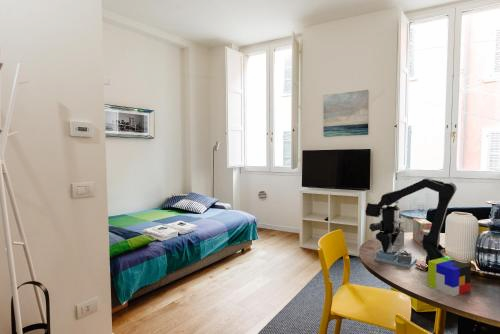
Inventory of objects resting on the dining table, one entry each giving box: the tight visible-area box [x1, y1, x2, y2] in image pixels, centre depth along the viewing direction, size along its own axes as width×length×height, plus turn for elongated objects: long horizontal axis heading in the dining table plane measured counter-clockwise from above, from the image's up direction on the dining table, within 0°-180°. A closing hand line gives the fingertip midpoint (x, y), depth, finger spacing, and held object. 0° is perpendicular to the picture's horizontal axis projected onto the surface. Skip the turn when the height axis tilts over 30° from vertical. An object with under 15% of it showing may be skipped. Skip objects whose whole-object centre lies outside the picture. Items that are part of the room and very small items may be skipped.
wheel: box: [398, 251, 413, 262], centre depth 145 cm, size 6×6×2 cm
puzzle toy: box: [427, 256, 472, 297], centre depth 120 cm, size 10×10×10 cm
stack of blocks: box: [412, 218, 432, 247], centre depth 173 cm, size 21×6×12 cm, turn 170°
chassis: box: [374, 248, 418, 269], centre depth 150 cm, size 16×11×4 cm
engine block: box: [380, 242, 396, 255], centre depth 152 cm, size 5×4×7 cm
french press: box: [394, 200, 407, 249], centre depth 172 cm, size 10×12×25 cm
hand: (388, 249), depth 152 cm, fingers open, 9 cm apart
